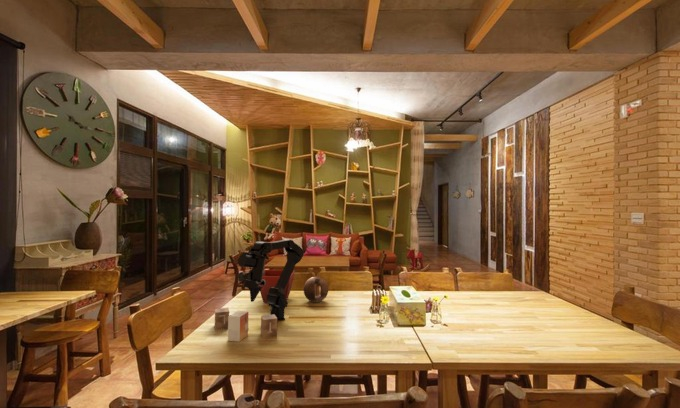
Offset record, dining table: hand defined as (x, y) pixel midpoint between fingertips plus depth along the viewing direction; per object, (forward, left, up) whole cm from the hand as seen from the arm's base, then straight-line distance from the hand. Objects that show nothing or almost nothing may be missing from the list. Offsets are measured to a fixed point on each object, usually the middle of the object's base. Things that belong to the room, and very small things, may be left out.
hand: (252, 301), depth 156 cm
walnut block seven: (+13, -6, -12) cm, 19 cm away
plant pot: (-20, -42, -13) cm, 48 cm away
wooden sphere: (-42, -32, -13) cm, 54 cm away
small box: (+7, +10, -13) cm, 17 cm away
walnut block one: (-6, +11, -12) cm, 18 cm away
